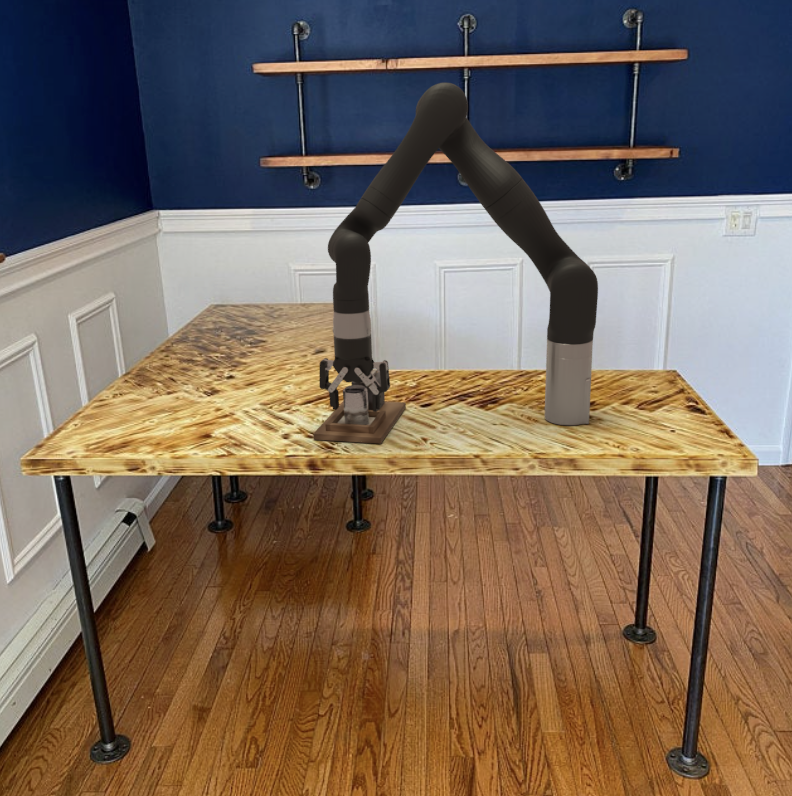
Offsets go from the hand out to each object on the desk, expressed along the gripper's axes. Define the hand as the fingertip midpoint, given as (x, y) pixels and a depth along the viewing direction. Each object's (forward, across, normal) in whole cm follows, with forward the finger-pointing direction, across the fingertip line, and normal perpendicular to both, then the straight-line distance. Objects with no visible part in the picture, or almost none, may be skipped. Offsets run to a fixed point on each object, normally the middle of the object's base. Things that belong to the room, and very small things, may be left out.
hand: (355, 409), depth 170 cm
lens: (+3, 0, 0) cm, 3 cm away
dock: (+4, 0, -4) cm, 6 cm away
